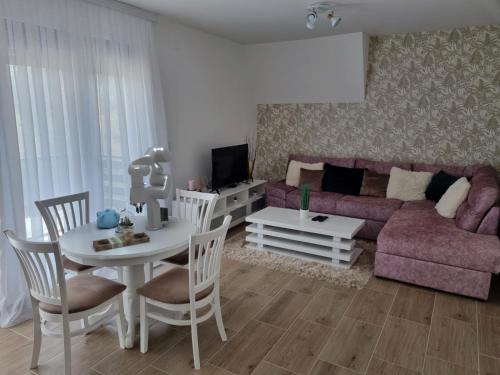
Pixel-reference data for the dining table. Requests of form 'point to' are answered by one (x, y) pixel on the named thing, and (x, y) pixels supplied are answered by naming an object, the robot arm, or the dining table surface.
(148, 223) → the robot arm
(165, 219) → the small box
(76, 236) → the dining table surface
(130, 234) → the birch block
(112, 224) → the decorative pot
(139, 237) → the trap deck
